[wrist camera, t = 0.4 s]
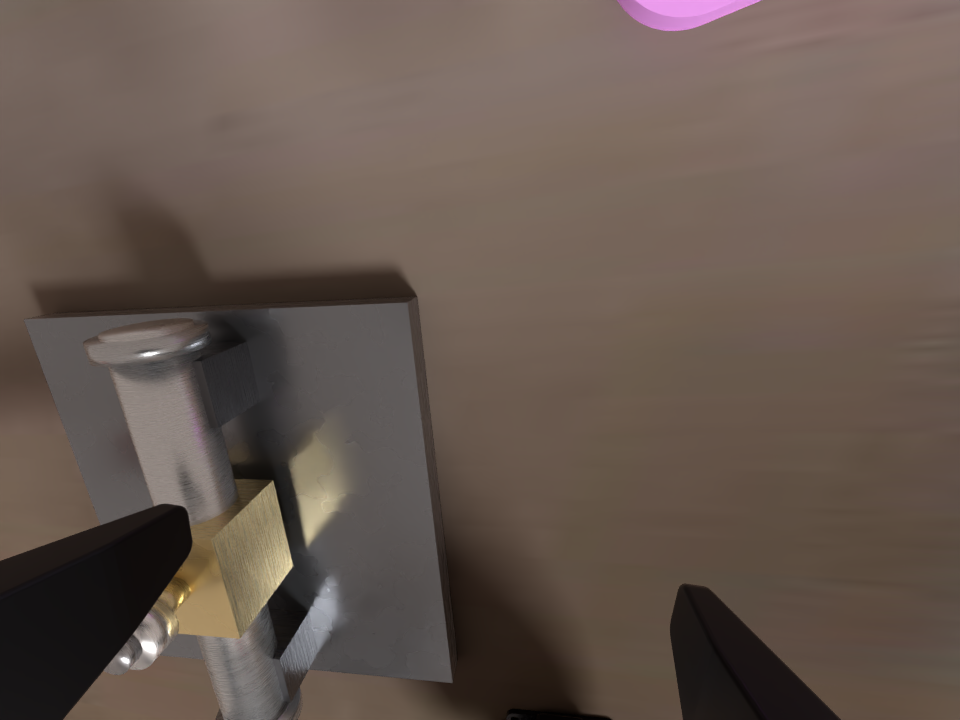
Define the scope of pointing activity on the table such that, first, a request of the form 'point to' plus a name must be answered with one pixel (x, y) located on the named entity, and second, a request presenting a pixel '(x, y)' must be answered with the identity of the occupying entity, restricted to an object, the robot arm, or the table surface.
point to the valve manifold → (271, 481)
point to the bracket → (680, 12)
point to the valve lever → (147, 640)
